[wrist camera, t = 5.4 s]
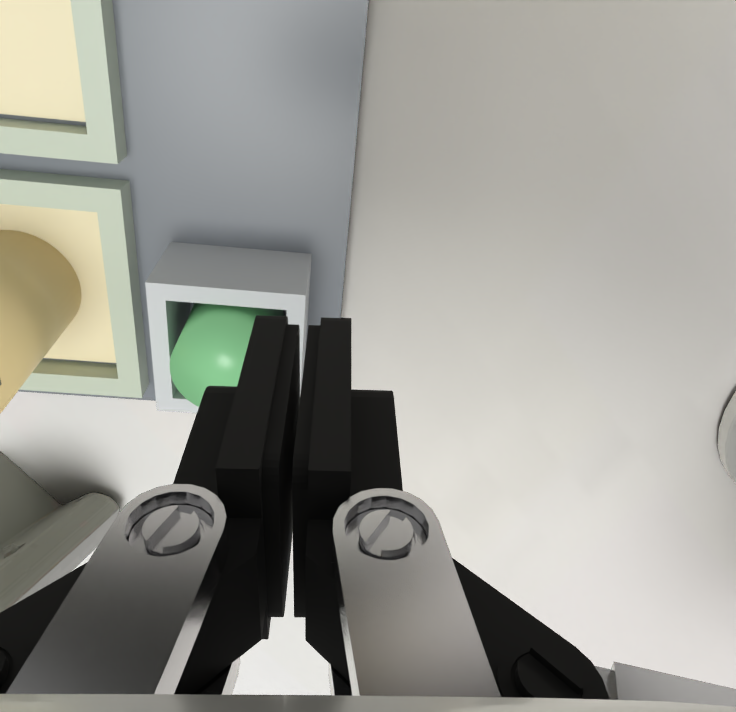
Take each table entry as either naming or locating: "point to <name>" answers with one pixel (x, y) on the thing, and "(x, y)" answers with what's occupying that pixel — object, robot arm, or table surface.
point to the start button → (213, 347)
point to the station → (167, 179)
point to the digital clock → (44, 533)
